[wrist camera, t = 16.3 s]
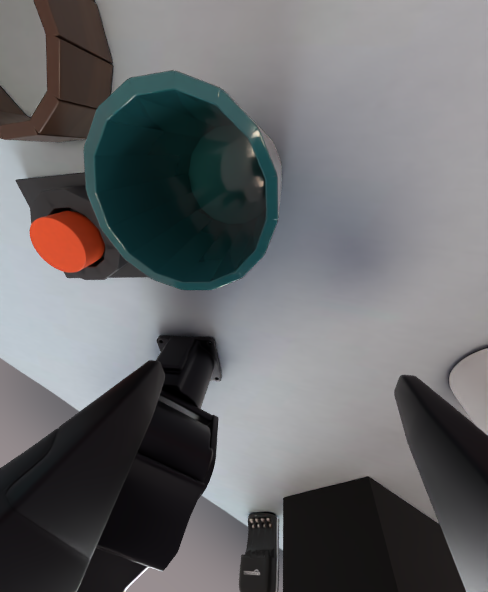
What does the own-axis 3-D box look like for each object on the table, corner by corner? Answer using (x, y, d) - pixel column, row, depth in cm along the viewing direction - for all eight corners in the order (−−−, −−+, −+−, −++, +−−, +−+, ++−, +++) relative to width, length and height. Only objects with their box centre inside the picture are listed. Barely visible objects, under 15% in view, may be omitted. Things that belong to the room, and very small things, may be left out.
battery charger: (270, 509, 47) (267, 600, 38) (280, 517, 48) (279, 607, 39) (243, 511, 50) (233, 597, 40) (253, 518, 51) (246, 603, 42)
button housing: (138, 167, 17) (113, 169, 14) (168, 272, 21) (152, 288, 19) (26, 178, 19) (-14, 182, 16) (74, 273, 23) (49, 288, 21)
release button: (91, 208, 16) (68, 215, 15) (112, 261, 19) (94, 272, 17) (44, 212, 17) (17, 218, 15) (69, 262, 19) (48, 273, 18)
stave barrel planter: (132, 132, 16) (91, 127, 13) (20, 147, 18) (-43, 146, 14) (67, -105, 11) (-28, -217, 8) (-79, -55, 13) (-210, -130, 9)
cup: (281, 224, 18) (279, 290, 9) (196, 229, 19) (125, 290, 10) (281, 112, 14) (276, 50, 6) (177, 125, 15) (45, 91, 7)
